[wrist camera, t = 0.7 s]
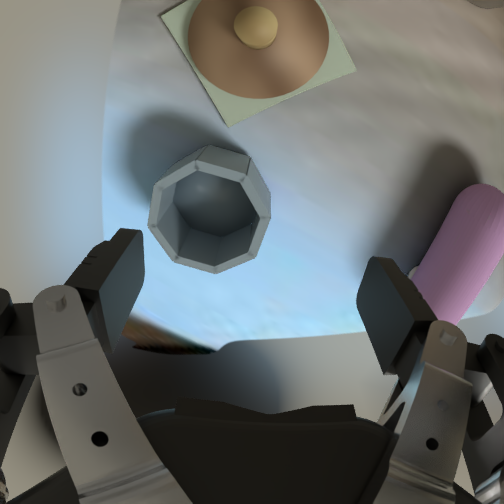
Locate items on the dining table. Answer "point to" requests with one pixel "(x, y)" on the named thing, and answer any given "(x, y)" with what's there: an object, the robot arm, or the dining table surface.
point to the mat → (241, 107)
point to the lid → (258, 44)
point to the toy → (462, 252)
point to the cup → (210, 210)
